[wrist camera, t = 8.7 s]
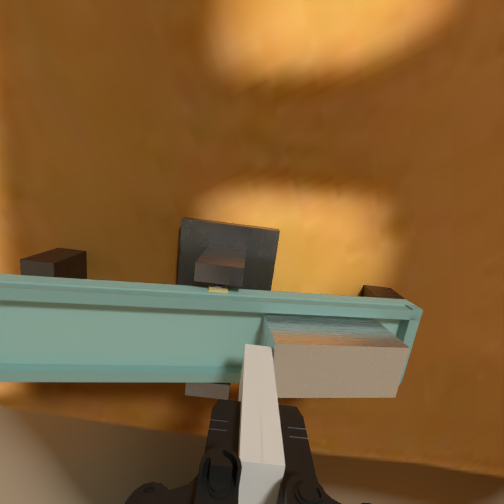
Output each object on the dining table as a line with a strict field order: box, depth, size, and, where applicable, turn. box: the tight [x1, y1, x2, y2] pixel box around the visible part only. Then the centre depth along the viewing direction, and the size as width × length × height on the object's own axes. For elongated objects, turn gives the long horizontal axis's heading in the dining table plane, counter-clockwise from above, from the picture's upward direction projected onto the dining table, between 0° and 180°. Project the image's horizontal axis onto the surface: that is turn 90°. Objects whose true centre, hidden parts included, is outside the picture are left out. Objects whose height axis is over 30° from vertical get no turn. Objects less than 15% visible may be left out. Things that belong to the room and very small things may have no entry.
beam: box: [0, 274, 423, 384], centre depth 17 cm, size 7×28×2 cm, turn 83°
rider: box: [259, 313, 410, 398], centre depth 17 cm, size 3×8×4 cm, turn 83°
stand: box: [20, 217, 405, 400], centre depth 21 cm, size 13×29×7 cm, turn 83°
